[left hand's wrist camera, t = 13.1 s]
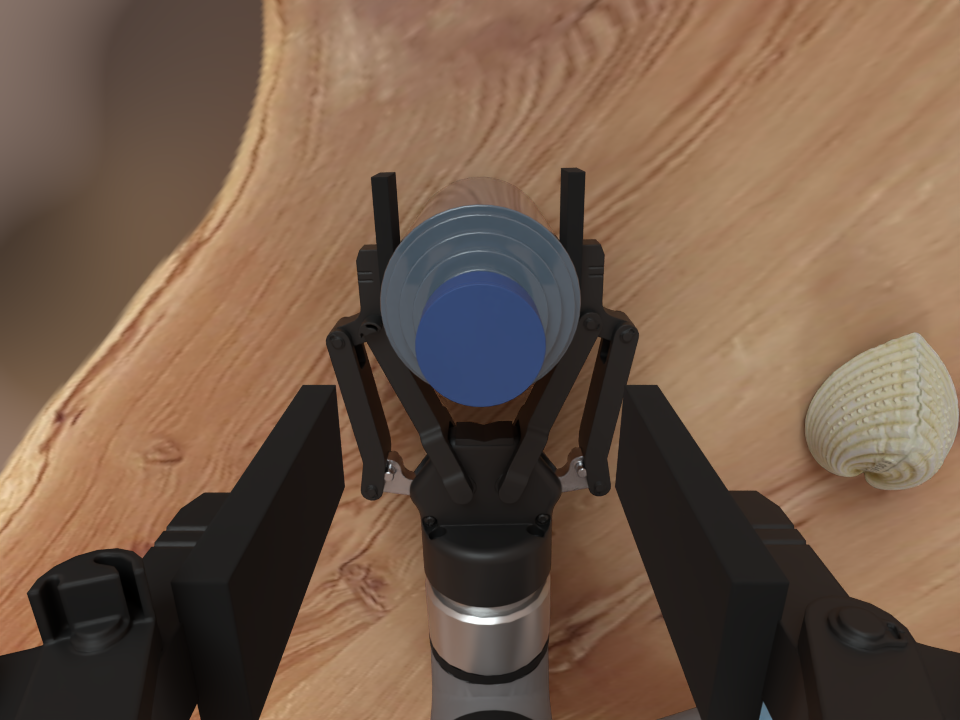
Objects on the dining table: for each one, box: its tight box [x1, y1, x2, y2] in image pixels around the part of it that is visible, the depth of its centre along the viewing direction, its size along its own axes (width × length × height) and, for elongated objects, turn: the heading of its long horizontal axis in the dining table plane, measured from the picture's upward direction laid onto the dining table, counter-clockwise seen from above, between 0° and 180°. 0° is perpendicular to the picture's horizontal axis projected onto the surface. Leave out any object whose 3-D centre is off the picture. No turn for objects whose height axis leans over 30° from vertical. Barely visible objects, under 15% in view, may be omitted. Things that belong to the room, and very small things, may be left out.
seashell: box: [805, 332, 959, 490], centre depth 38 cm, size 8×8×8 cm
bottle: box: [380, 177, 581, 385], centre depth 29 cm, size 8×8×17 cm
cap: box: [415, 271, 546, 407], centre depth 21 cm, size 4×4×2 cm
